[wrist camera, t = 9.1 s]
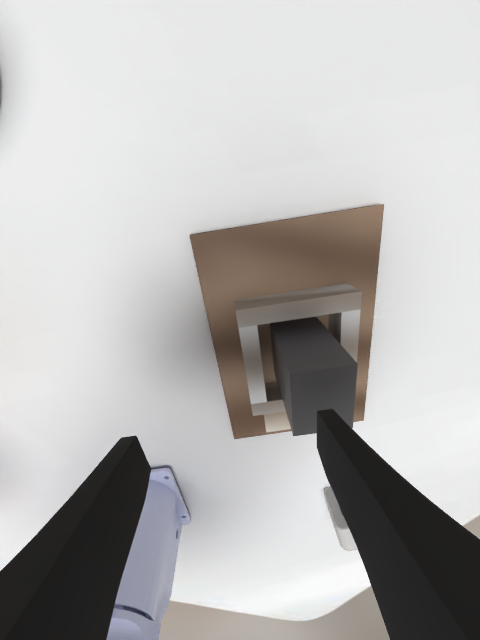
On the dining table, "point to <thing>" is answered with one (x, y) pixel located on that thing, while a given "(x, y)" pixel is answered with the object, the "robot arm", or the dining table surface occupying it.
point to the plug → (312, 373)
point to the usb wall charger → (339, 521)
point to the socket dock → (286, 301)
